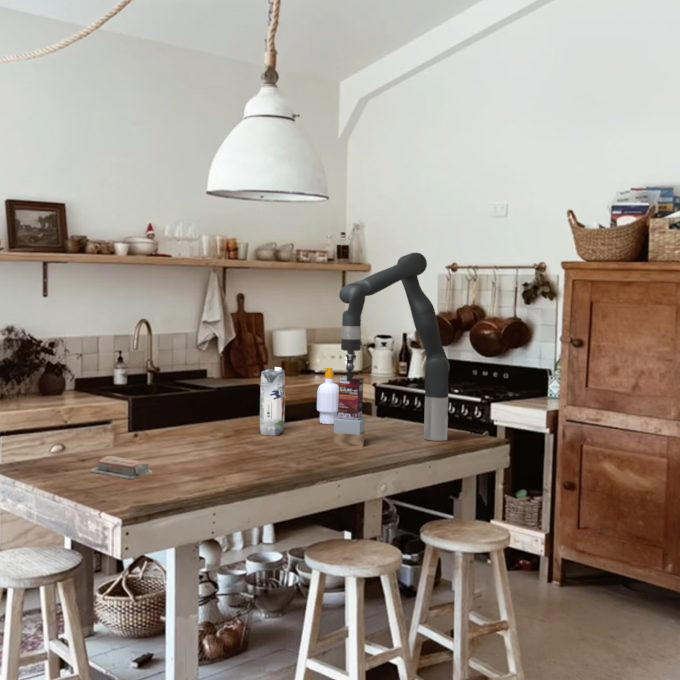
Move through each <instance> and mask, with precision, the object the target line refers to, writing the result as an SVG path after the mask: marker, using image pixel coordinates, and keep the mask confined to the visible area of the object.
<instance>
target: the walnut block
mask: <svg viewBox="0 0 680 680" xmlns="http://www.w3.org/2000/svg"><path fill="white" fill-rule="evenodd" d="M364 443H365V431H363V432H362V433H361V434H360V435H358V434H343V433H334V432H333V446H334V445H339V446H338V447H352V446H363V447H364Z"/></svg>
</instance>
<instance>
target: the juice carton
mask: <svg viewBox="0 0 680 680" xmlns="http://www.w3.org/2000/svg"><path fill="white" fill-rule="evenodd" d="M285 374H286V373H285V369H283V368H282V367H280V366H279V367H278V366H274V369H273V368H272V369H271V368H270V369H267V368H266V369H265V370H262V371H261V374H260V386H259V387H260V389H259V390H260V391H259V392H260V395H259V397H260V398H259V429H260V430H259V431H260V434H261V435H262V436H280V434H282V432H283V431H284V427H285V412H286V411H285V408H286V407H285V405H286V404H285V403H286V401H285V400H286V375H285Z"/></svg>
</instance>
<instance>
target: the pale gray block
mask: <svg viewBox="0 0 680 680" xmlns="http://www.w3.org/2000/svg"><path fill="white" fill-rule="evenodd" d="M363 431H364V432H365V431H366V417H363V416H362V419H359V420H352V419H342V418H338V417H337V418H336V419H335V420H334V424H333V434H334V433H343V434H358V435H360V434H361V433H362V432H363Z"/></svg>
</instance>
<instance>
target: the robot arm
mask: <svg viewBox="0 0 680 680" xmlns="http://www.w3.org/2000/svg"><path fill="white" fill-rule="evenodd" d="M427 267H428V262H427V259H426V257H425V256H424V254H422V253H419V252H410V253H407V254H406V255H403V256H401V257H399V259H398V260H397V263H396V264H395V265H393V266H390V267H387V268H386V269H383V270H380V271H377V272H374V273H373V274H371V275H369V276H367V277H365V278H363V279H361V280H357V281H354V282H351V283H348V284H346V285H344V286H342V287H341V289H340V290H339V294H338V296H339V300H340V301H342V302H343V303H344V304H347V305H348V306H347V309H346V310H345V311H343V313H342V319H341V320H342V321H341V322H342V323H341V335H340V337H341V338H340V339H341V341H340V342H341V343H340V349H341V350H342V351H347V354H345V355H344V356H345V370H346V377H347V381H349V382H352V381H353V377H355V376H354V373H355V371H354V370H355V367H356V360H357V355H356V352H358V351H361V349H362V330H361V329H362V327H361V326H362V323H361V322H362V317H361V316H362V313H363V311H364V306H365V302H366V297H369V296H373V295H375V294H377V293H380V292H381V291H382V290H385V289H387V288H388V287H391V286H393V285H395V284H396V283H398V282H399V281H401V284H402V286H403V289H404V290H405V294H406V298H407V302H408V306H409V309H410V312H411V317H412V320H413V325H414V327H415V330H416V332H417V334H418V337H419V339H420V341H421V343H422V346H423V348H424V353H425V358H426V363H425V367H424V391H425V392H424V418H423V420H424V421H423V439H424V440H427V441H432V442H433V441H435V442H436V441H437V442H439V441H440V442H441V441H448V429H449V427H448V425H449V415H448V413H449V372H450V370H451V368H450V367H451V365H450V361H449V359H448V357H447V355H446V353H445V348H444V347H443V343H442V340H441V333H440V327H439V323H438V318H437V314H436V311H435V308H434V305H433V303H432V301H431V300H430V298H428V296H427V295H426V294H425V292H424V291H423V290H422V288H421V285H420V282H419V278H418V277H419V276H420V275H421V274H423V273H425V271H426V269H427Z"/></svg>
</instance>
